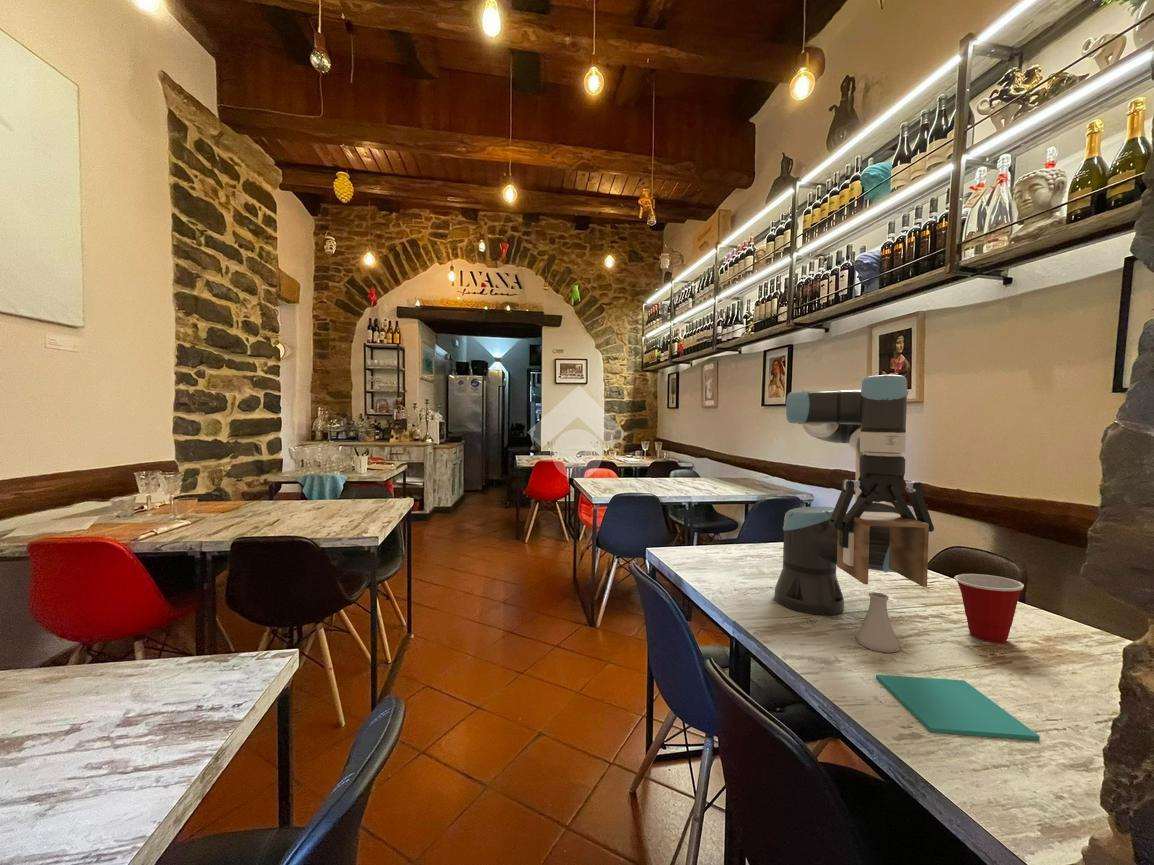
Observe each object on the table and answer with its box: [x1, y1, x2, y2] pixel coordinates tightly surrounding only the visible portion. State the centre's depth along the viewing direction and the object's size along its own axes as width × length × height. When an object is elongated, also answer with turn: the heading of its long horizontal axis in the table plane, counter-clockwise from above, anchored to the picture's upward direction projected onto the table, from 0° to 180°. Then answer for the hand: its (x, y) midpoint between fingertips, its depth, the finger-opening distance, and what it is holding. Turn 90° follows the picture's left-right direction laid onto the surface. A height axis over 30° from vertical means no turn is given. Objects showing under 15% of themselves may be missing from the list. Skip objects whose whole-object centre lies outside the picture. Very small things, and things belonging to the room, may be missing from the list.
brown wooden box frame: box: [836, 510, 930, 588], centre depth 91 cm, size 11×11×12 cm
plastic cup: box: [953, 573, 1025, 644], centre depth 95 cm, size 11×11×12 cm
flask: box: [855, 591, 901, 654], centre depth 91 cm, size 7×7×10 cm
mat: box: [875, 674, 1041, 741], centre depth 71 cm, size 14×14×1 cm
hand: (879, 565), depth 91 cm, fingers closed on brown wooden box frame, 11 cm apart
